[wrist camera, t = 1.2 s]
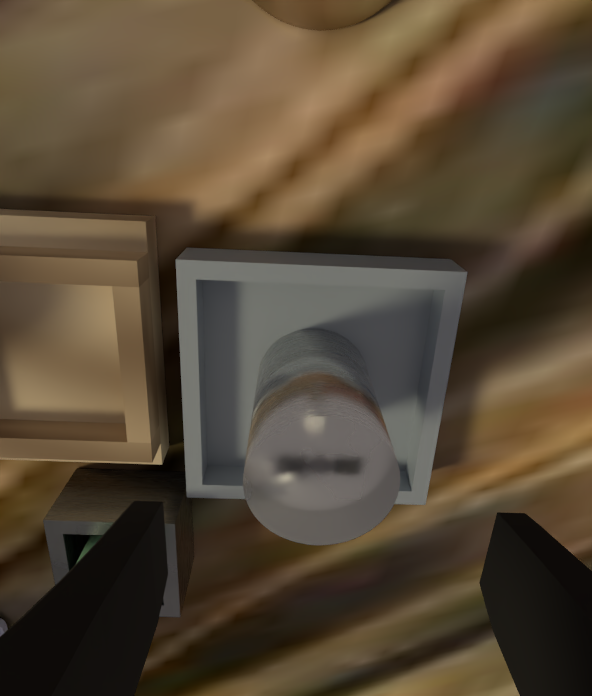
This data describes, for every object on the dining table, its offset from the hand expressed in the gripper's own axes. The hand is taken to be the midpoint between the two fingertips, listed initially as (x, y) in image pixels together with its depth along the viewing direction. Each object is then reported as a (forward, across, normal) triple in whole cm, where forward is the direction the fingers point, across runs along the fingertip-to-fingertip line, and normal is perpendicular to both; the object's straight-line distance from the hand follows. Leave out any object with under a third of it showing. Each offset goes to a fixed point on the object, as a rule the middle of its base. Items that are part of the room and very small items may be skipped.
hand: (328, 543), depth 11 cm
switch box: (+9, +7, +7) cm, 13 cm away
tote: (+9, 0, 0) cm, 9 cm away
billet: (+8, 0, 0) cm, 8 cm away
